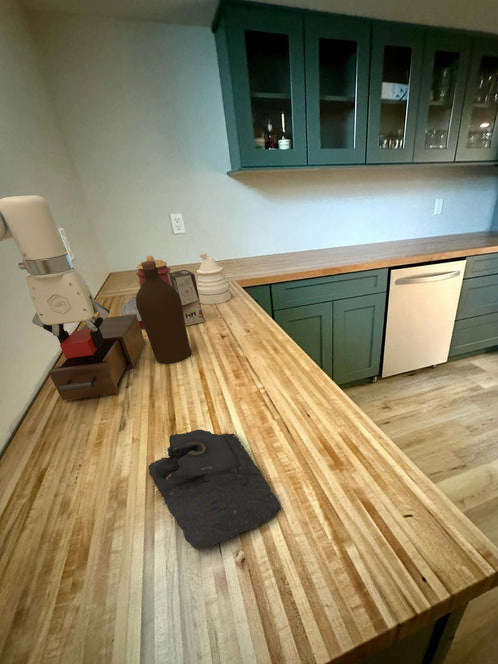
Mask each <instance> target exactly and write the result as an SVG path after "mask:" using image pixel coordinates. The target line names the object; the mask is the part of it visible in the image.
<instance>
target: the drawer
mask: <svg viewBox="0 0 498 664" xmlns="http://www.w3.org/2000/svg"><path fill="white" fill-rule="evenodd" d="M127 363H128V360H127V357H126V355H125V352H124V349H123V346H122V343H121V340H112V341H104V342H103V344H102V346H101V347H100V348H98V349H97V350H96V351H95V353H94V354H93V355H89V356H81V357H74V358H67V359H66V358H65V357H64V359H62V360H61V362H60V363H59V364H58V365H57V366H56V367H57V368H53V369H50V370H49V371H48V373H47V374H48V375H49V377H50V378H51V380H52V383H53V385H54V387H55V388H56V391H57V392H58V395H59V396H60V398H61V401H69V400H75V399H76V400H77V399H83V398H90V397H96V396H102V395H109V394H115V393H118V392H119V387H118V383H119V382H120V380H121V378H122V375H123V373H124V371H125V370H126V369H125V367H126V365H127Z"/></svg>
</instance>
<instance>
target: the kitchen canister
mask: <svg viewBox="0 0 498 664" xmlns="http://www.w3.org/2000/svg"><path fill="white" fill-rule="evenodd" d="M147 261H154V262H155V263H156V267H157V269H158V273H159V277H160V278H161V279H162V280H164V281H165V282H167V283H168V284H170V282H169V278H168V274H167V273H171V271H172V270H171V267H169V266H167V265H168V263H167V262H166V261H164V260H162V259H155V258H154V256H153V255H147V256H146V260H144V261H140V262H139V264H138V265H136V269H137V271H136V272H135V275H136V276H137V277H138V284H139V288H140V287H141V286H142V284H143V282H144V280H145V277H144V274H143V270H142V269H143V267H142V265H141V263H143V262H147Z"/></svg>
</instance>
